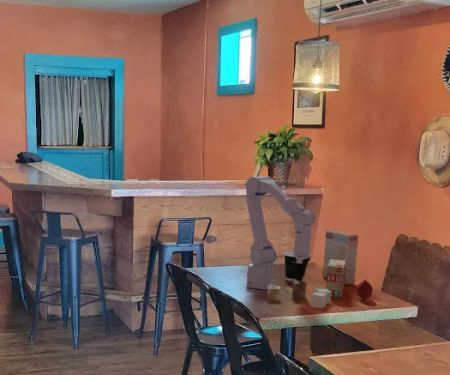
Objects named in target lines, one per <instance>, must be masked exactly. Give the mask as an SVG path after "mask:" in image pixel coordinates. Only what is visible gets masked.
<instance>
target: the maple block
mask: <svg viewBox="0 0 450 375" xmlns="http://www.w3.org/2000/svg"><path fill="white" fill-rule="evenodd" d="M266 292H267V293H266V301H276V302H279V301H280V298H281V297H280V296H281V286H280V285H273V286H270V285H268V289H267V290H266Z"/></svg>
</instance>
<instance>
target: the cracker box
mask: <svg viewBox="0 0 450 375" xmlns="http://www.w3.org/2000/svg"><path fill="white" fill-rule="evenodd" d="M358 243H359V235H358V234H354V233H350V232H348V231H347V232H346V231H342V230H338V229H327V230H325V242H324V257H323V268H322V269H323V270H322V278H324V279H325V280H327V271H328V264H329V262H330V259H334V260H344V261H345V264H346V268H345V283H344V286H348V285H354V284H355V281H356V268H357V256H358V245H359V244H358Z"/></svg>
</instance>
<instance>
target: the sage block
mask: <svg viewBox="0 0 450 375" xmlns="http://www.w3.org/2000/svg"><path fill="white" fill-rule="evenodd" d="M314 292H320V293H326V294H327V301H326V305H331V303H332V302H331V299H332V297H331V292H330V291H329V290H328V289H326V288H315V291H314Z"/></svg>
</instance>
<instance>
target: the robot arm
mask: <svg viewBox="0 0 450 375" xmlns="http://www.w3.org/2000/svg"><path fill="white" fill-rule="evenodd" d="M275 182H276V181H275V180H274V179H273V178H272V177H270V176H268V175H265V176H250V177H249V178H248V179H247V180H246V182H245V184H244V187H245V190H246V197H245V201H246V205H247V212H248V216H249V221H250V228H251V232H252V237H253V243H252V244H251V245H250V248H249V249H250V254H249V260H250V261H251V263H249V264H248V266H247V274H246V286H245V288H249V289H251V288H252V289H256V290H257V289H259V290H260V289H261V290H266V291H267V289H268V285H270V286H274V284H273V283H272V268H273V265H274V262H276V259H277V252H276V250H275V248H274V245H273V243H272V242H271V241H270V240H269V239H268V235H267V234H268V233H267V228H266V224H265V217H264V213H263V208H262V200H263V198H264V197H265V196H267V194H269V195H270V196H271V197H272V198H274V199H275V200H276V201H277V202H278V203H280V204H281V208H282V210H283V212H285V213H286V214H287V215H288V216H289V217H290V218H291V219H292V222H293V225H294V230H295V232H294V233H295V234H294V250H293V252H294V254H293V256H294V257H295V259H296V261H293V262H292V264H293V267H294V270H295V277H296V281H303V279H304V277H305V275H306V274H305V273H306V270H307V266H308V264H309V262H310V260H311V259H312V258H313V254H311V253H310V251H311V250H310V249H311V236H312V226H313V224H314V223H315V222H316V216H315V214H314V213H313V211H312V210H309V209H306V208H305V207H304V206H302V205H301V204H300V203H299V202H298V200H297V199H296V198H295V197H294V198H293V197H289V196H287V195H286V194H285V193H284V192H283V191H282V189H280V187H279V186H278V185H277V184H276V183H275Z"/></svg>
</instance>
